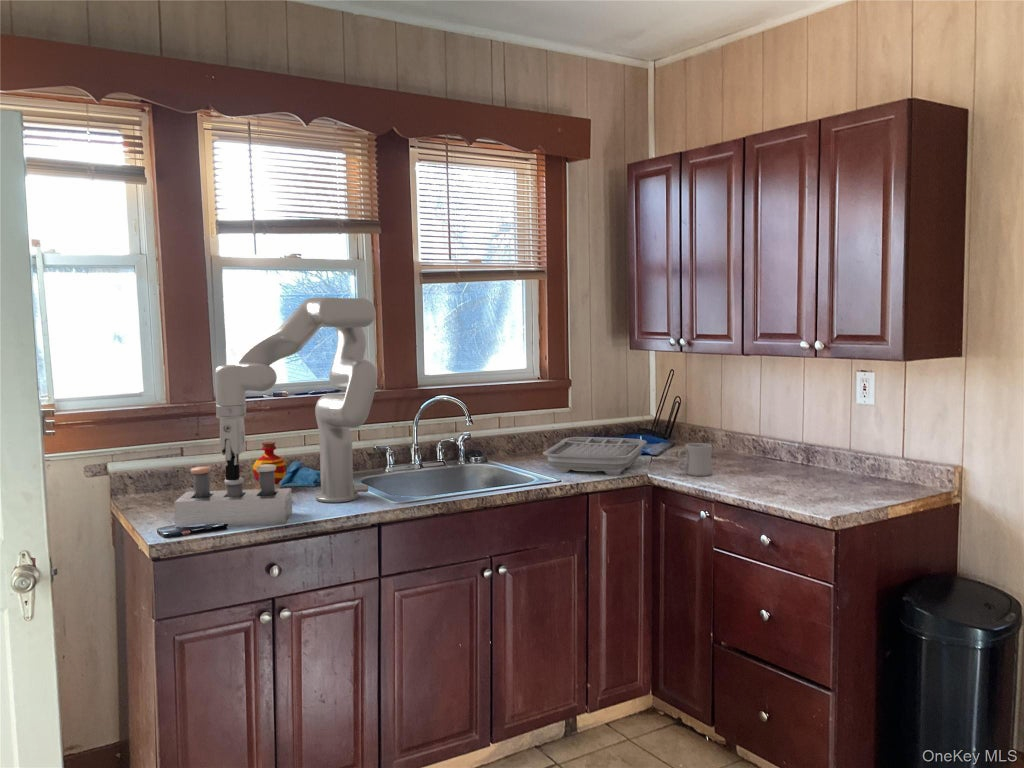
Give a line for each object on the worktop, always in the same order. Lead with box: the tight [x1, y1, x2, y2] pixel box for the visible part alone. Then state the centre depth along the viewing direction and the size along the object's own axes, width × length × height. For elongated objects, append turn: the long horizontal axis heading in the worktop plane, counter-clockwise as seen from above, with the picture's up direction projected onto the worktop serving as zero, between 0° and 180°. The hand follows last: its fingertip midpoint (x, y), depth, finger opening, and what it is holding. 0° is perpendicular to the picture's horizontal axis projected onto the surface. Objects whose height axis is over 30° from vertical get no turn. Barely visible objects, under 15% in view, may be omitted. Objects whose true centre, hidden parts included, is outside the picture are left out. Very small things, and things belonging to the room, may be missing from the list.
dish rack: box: [542, 436, 648, 476], centre depth 291 cm, size 32×37×8 cm
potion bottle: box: [252, 441, 287, 486], centre depth 257 cm, size 10×10×15 cm
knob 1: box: [190, 466, 212, 498], centre depth 219 cm, size 5×5×8 cm
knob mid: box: [224, 477, 245, 497], centre depth 220 cm, size 5×5×8 cm
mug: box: [677, 442, 713, 477], centre depth 276 cm, size 12×9×10 cm
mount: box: [174, 487, 293, 528], centre depth 220 cm, size 28×12×7 cm, turn 97°
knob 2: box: [257, 465, 276, 496], centre depth 221 cm, size 5×5×8 cm
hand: (232, 479), depth 219 cm, fingers closed
